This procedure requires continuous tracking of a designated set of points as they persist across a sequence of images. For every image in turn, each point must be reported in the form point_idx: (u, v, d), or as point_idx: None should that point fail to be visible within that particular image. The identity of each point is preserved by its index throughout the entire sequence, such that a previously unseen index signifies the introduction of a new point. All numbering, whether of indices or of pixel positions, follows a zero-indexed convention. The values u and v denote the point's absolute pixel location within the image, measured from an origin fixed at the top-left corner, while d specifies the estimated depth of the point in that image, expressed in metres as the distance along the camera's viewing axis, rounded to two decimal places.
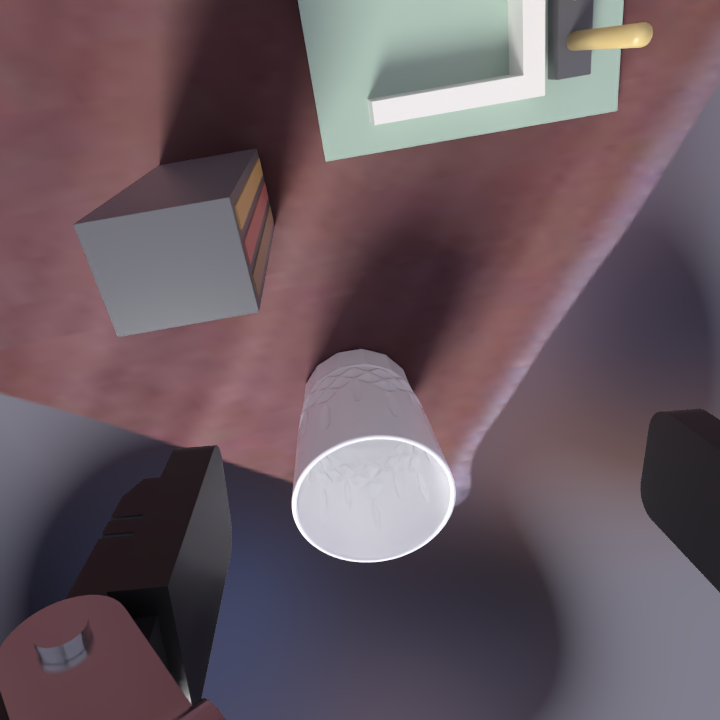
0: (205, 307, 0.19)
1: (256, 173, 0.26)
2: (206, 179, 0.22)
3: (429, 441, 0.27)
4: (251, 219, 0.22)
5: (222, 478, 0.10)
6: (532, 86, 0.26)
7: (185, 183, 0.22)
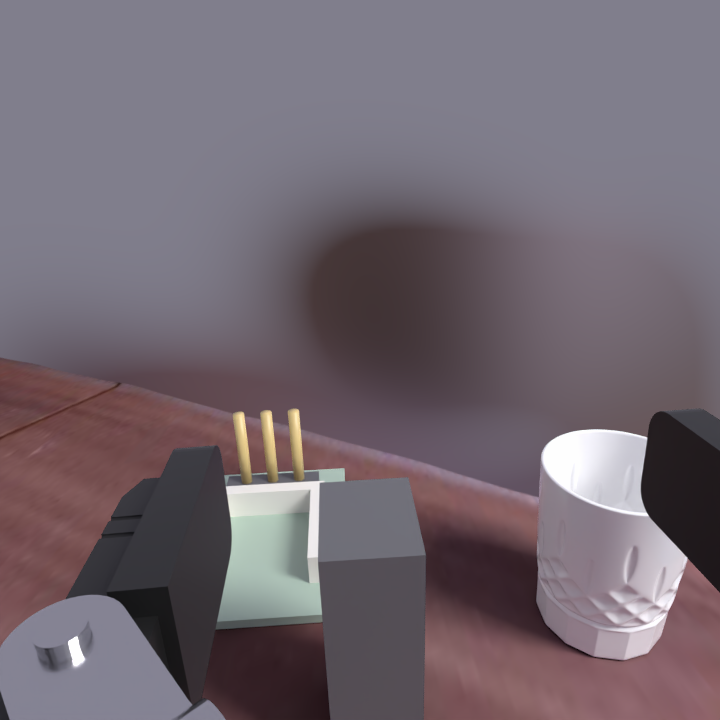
0: (401, 501, 0.24)
1: None
2: None
3: None
4: None
5: (222, 478, 0.10)
6: (317, 485, 0.41)
7: None
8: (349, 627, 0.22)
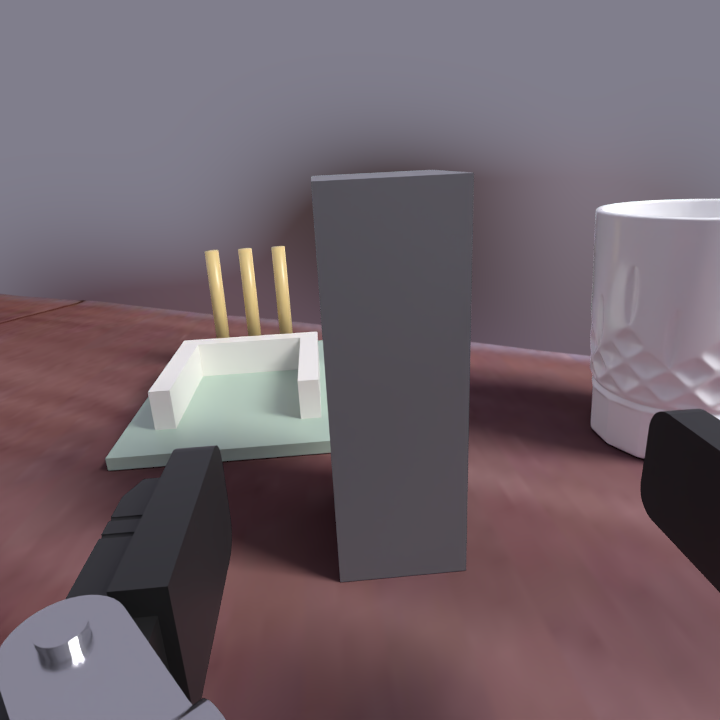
0: (427, 171, 0.17)
1: None
2: None
3: None
4: None
5: (222, 478, 0.10)
6: (309, 335, 0.34)
7: None
8: (359, 312, 0.15)
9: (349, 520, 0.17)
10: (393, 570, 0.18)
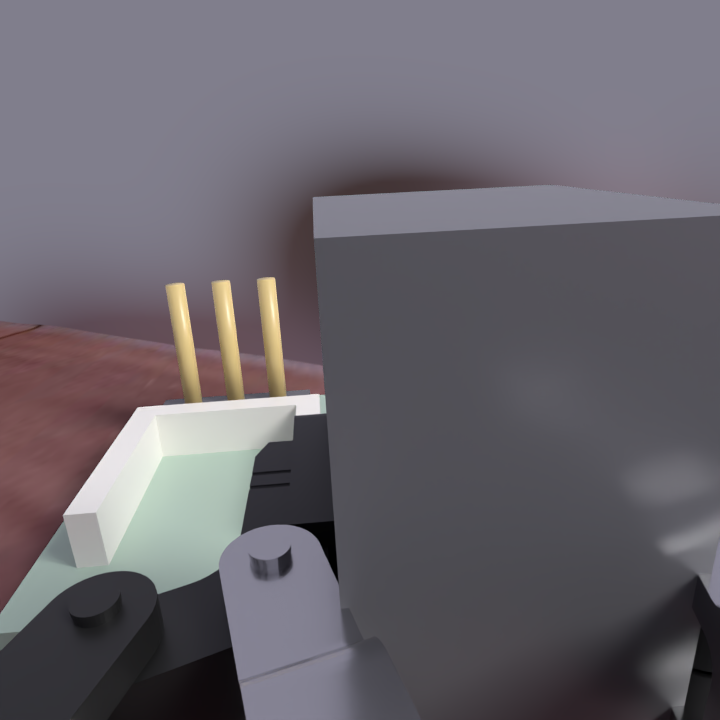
0: (565, 192, 0.08)
1: None
2: None
3: None
4: None
5: None
6: (308, 400, 0.25)
7: None
8: (437, 566, 0.06)
9: None
10: None
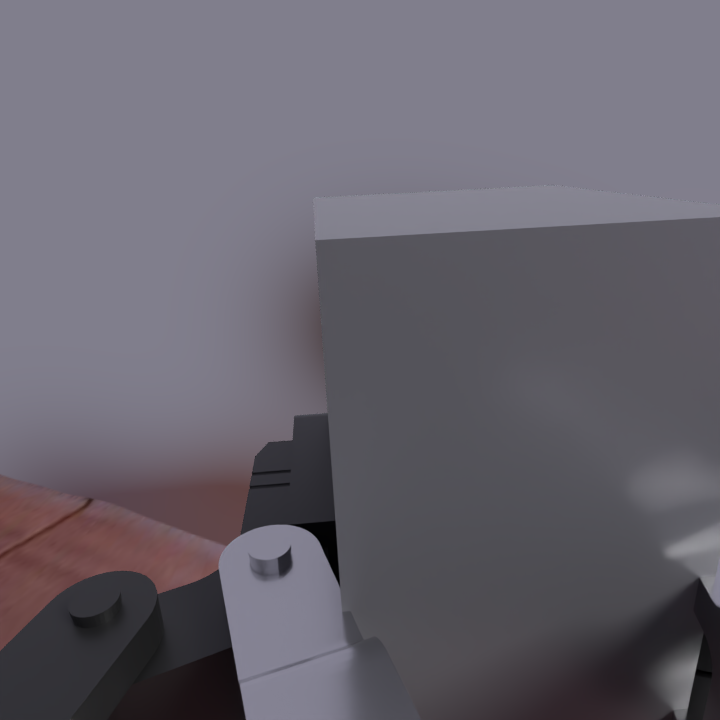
0: (567, 192, 0.08)
1: None
2: None
3: None
4: None
5: None
6: None
7: None
8: (439, 569, 0.06)
9: None
10: None
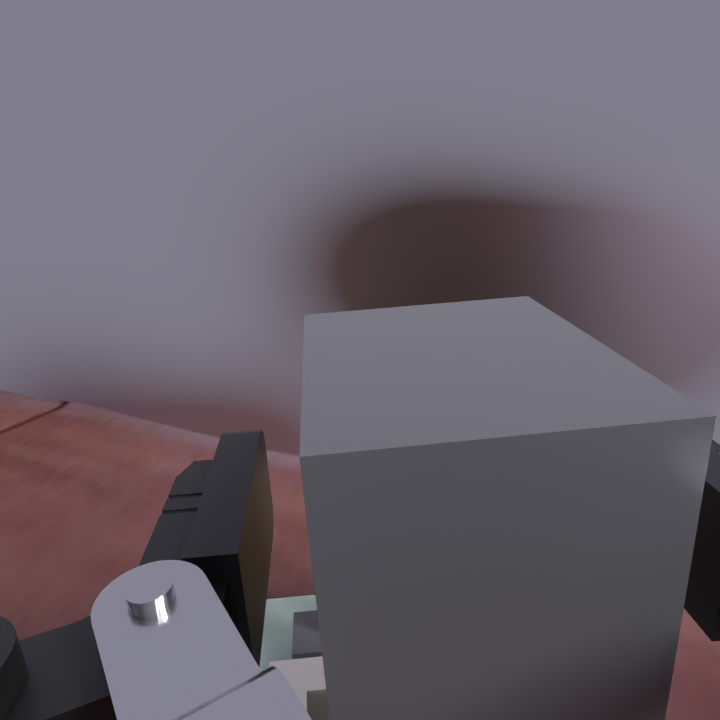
0: (536, 325, 0.08)
1: None
2: None
3: None
4: None
5: (266, 461, 0.10)
6: None
7: None
8: (418, 707, 0.06)
9: None
10: None
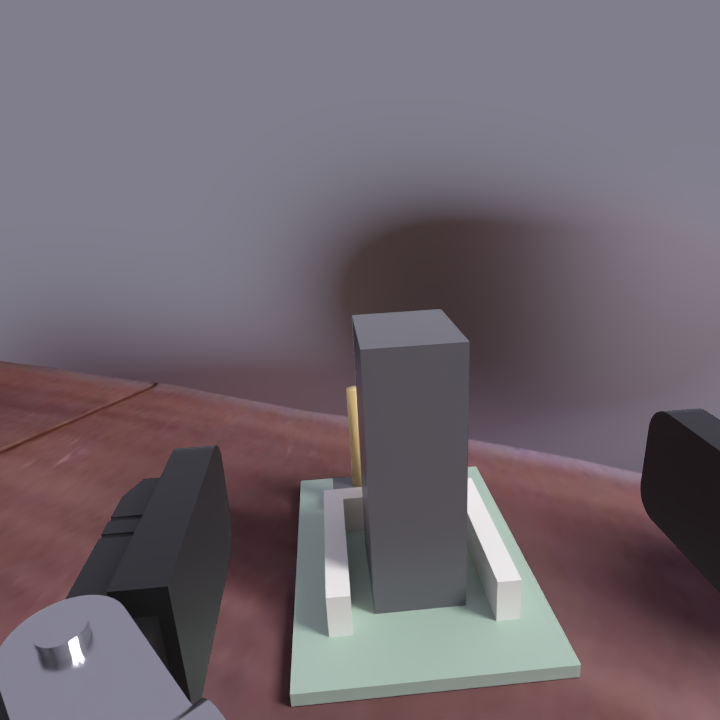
0: (437, 319, 0.24)
1: None
2: (359, 422, 0.25)
3: None
4: None
5: (222, 478, 0.10)
6: None
7: (360, 428, 0.24)
8: (390, 431, 0.22)
9: (381, 569, 0.24)
10: (413, 605, 0.24)
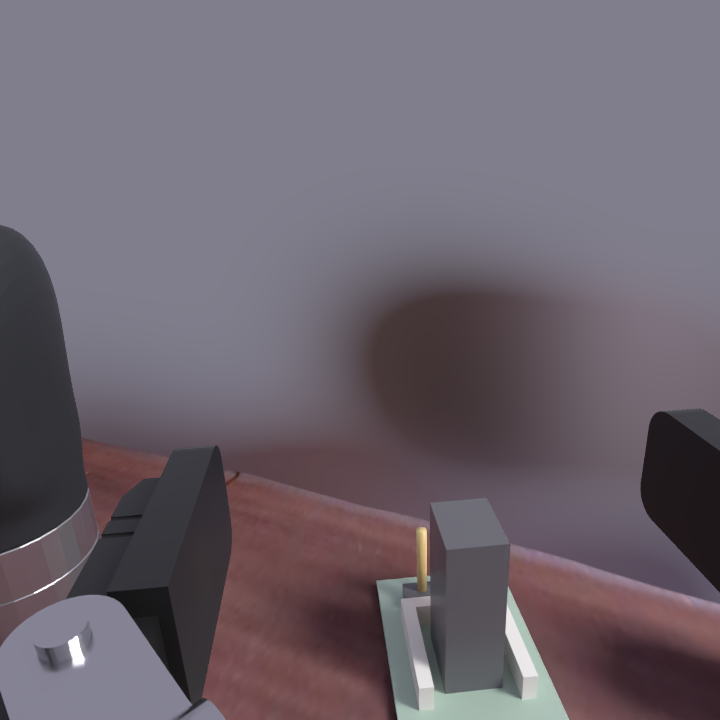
0: (486, 513, 0.38)
1: None
2: (434, 570, 0.39)
3: None
4: None
5: (222, 478, 0.10)
6: None
7: (436, 577, 0.39)
8: (461, 591, 0.36)
9: (451, 668, 0.38)
10: (469, 688, 0.39)
